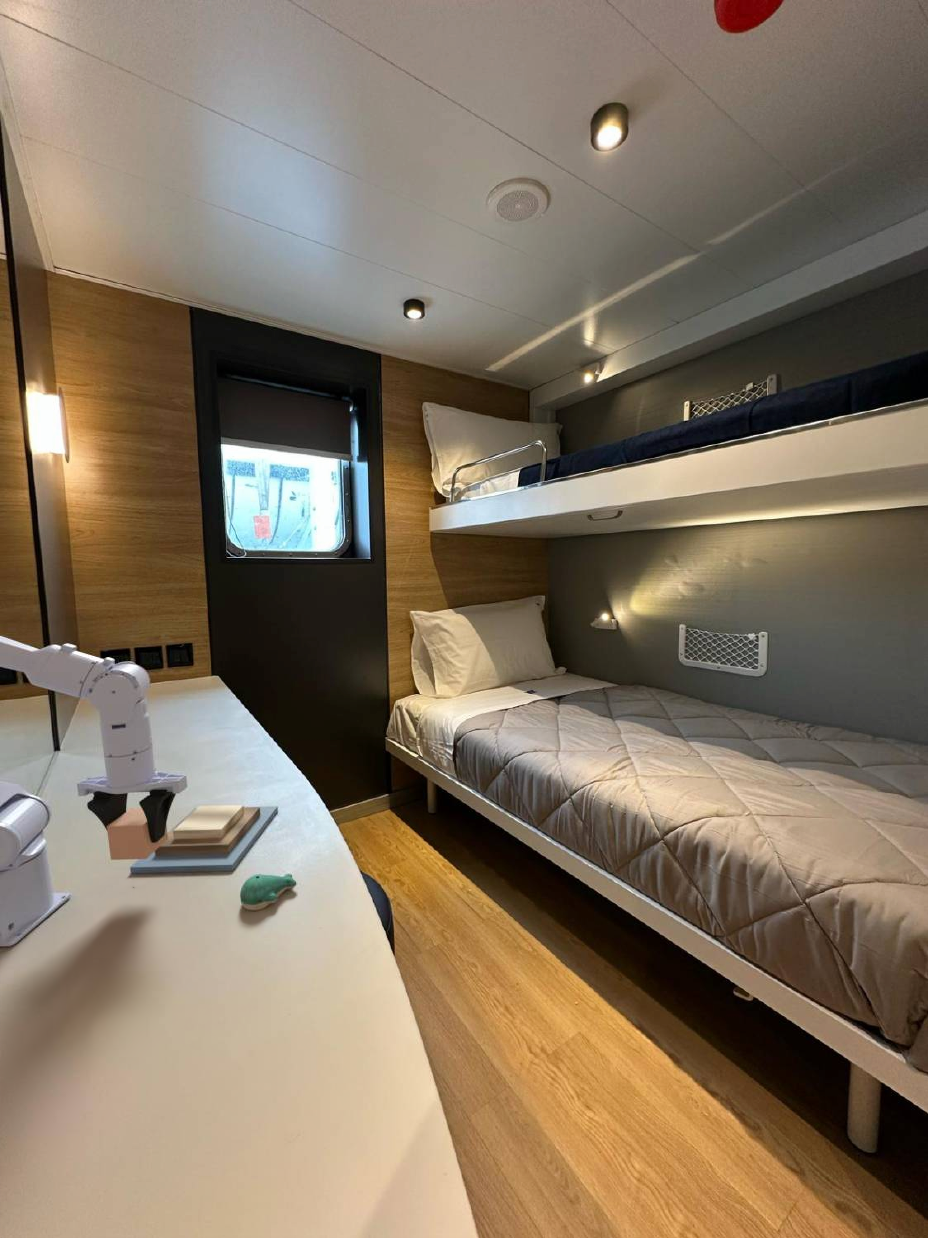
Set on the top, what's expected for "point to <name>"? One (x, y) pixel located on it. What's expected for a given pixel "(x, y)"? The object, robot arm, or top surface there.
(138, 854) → the terracotta block
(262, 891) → the whale figurine
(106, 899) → the top surface
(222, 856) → the plinth board
